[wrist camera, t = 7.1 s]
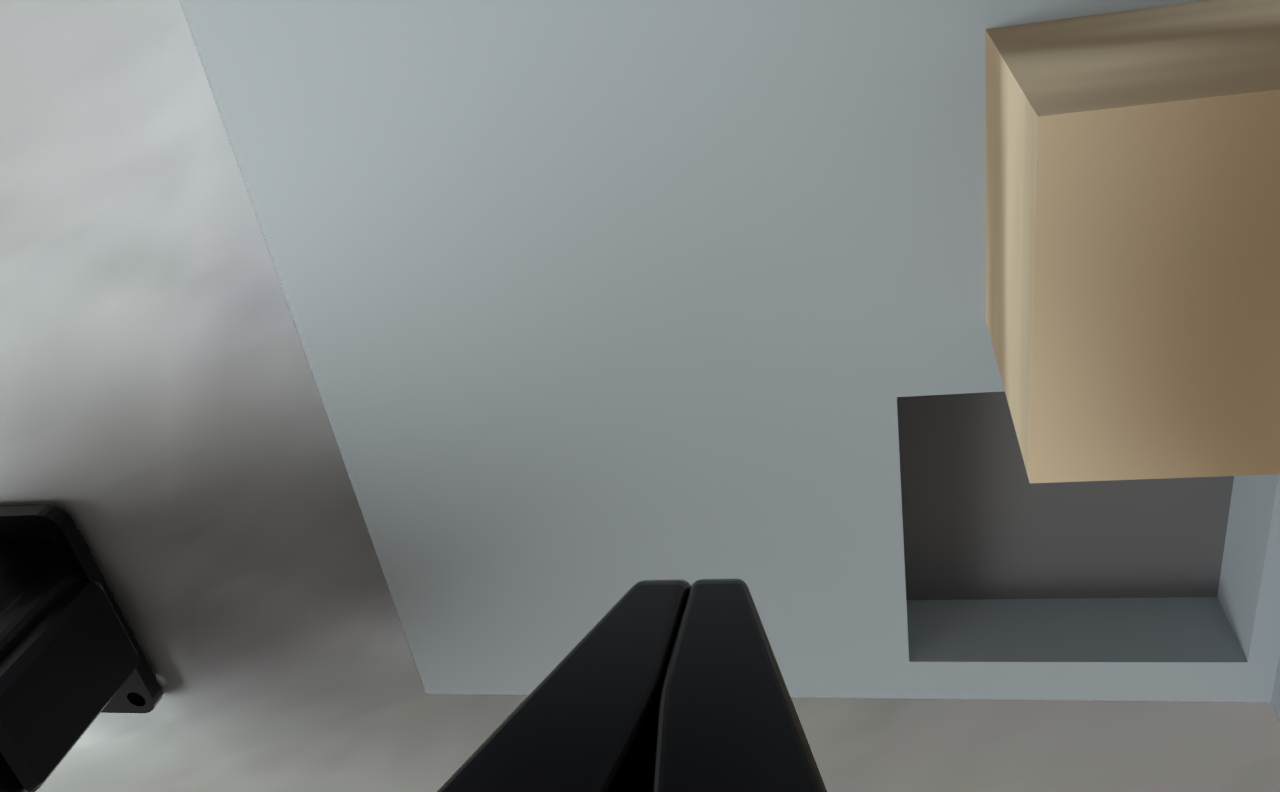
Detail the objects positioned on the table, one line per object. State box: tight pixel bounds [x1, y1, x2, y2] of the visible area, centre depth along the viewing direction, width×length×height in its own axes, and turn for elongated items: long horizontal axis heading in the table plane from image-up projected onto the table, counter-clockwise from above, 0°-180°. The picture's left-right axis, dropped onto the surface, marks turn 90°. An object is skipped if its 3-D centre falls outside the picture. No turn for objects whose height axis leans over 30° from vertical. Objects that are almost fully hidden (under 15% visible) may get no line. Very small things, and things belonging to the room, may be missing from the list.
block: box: [985, 0, 1280, 483], centre depth 13 cm, size 4×4×4 cm
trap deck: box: [179, 0, 1280, 721], centre depth 15 cm, size 18×27×4 cm, turn 9°
